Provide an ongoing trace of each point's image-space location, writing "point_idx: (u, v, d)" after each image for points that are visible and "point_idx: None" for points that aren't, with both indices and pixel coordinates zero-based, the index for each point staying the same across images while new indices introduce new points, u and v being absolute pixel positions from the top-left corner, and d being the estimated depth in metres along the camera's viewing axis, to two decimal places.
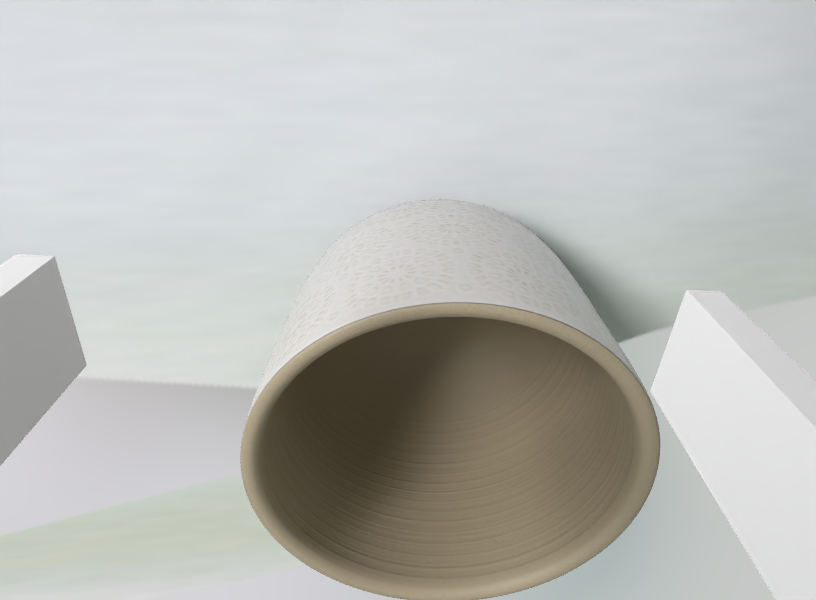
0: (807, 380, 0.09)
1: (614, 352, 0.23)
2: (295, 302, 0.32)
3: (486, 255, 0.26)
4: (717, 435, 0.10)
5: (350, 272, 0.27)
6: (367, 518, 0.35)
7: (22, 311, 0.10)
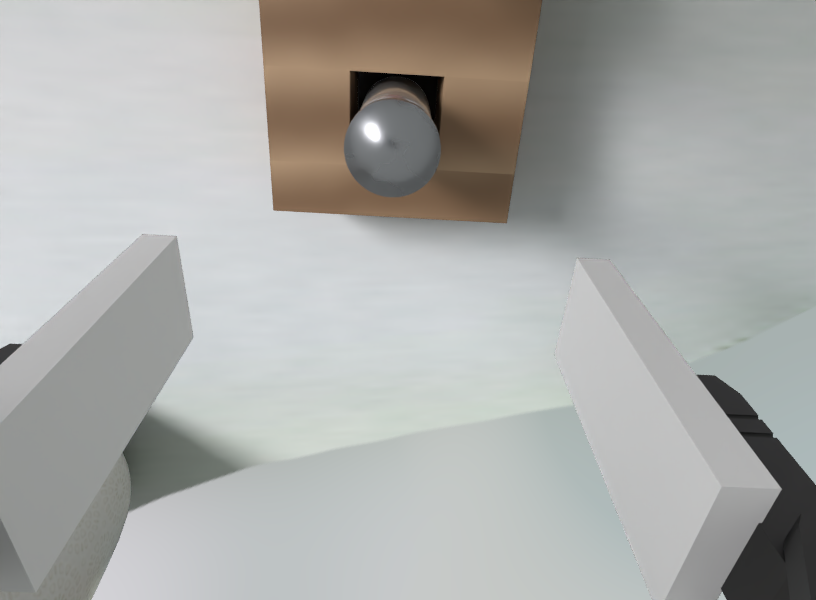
0: (655, 330, 0.10)
1: None
2: None
3: None
4: (592, 385, 0.11)
5: None
6: None
7: (157, 284, 0.11)
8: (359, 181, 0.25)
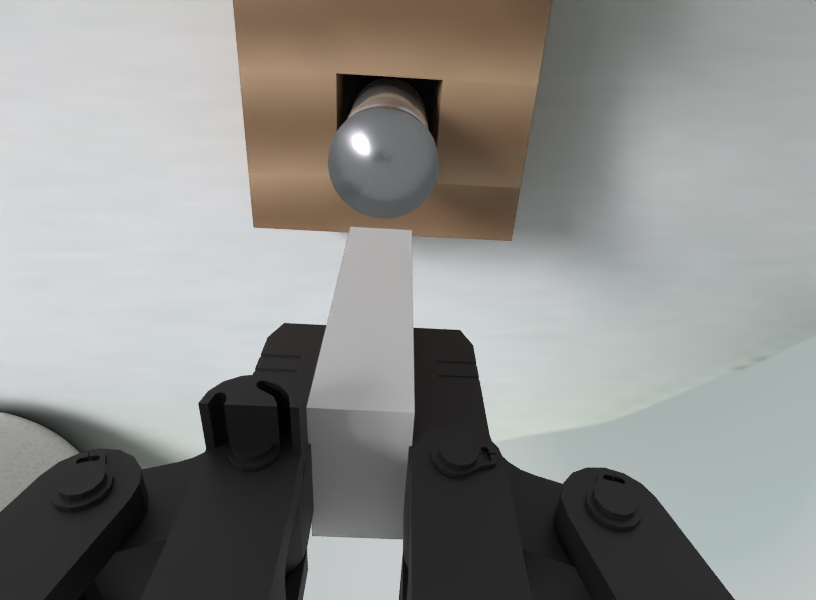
0: (405, 288, 0.10)
1: None
2: None
3: None
4: None
5: None
6: None
7: None
8: (346, 200, 0.22)
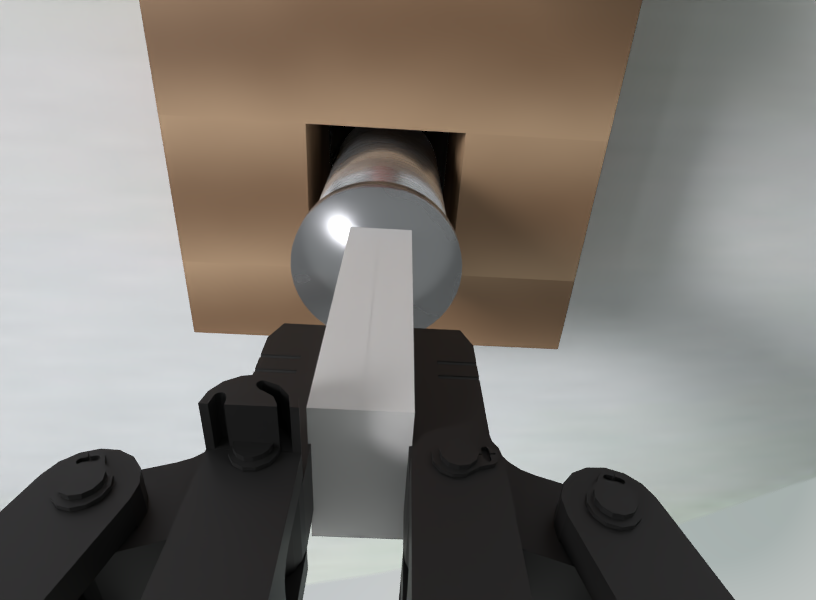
0: (405, 288, 0.10)
1: None
2: None
3: None
4: None
5: None
6: None
7: None
8: (320, 317, 0.15)
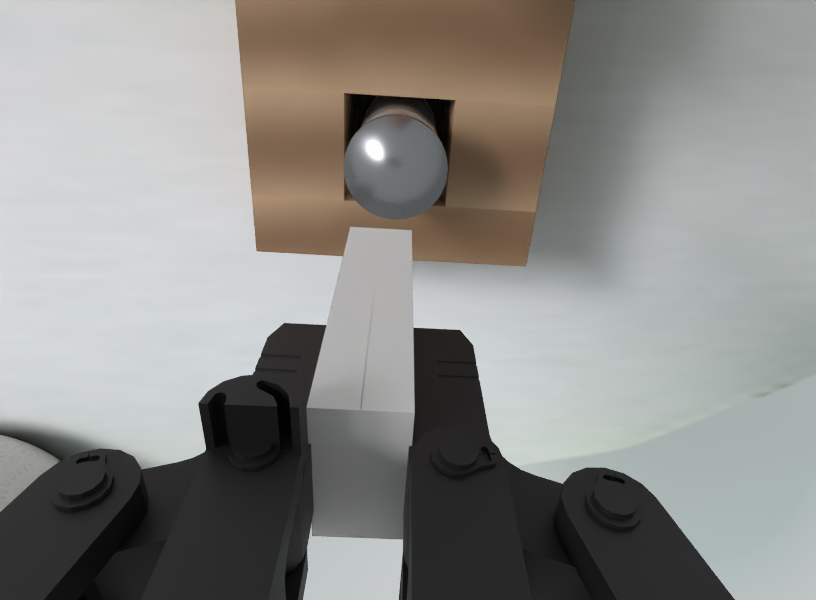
0: (405, 288, 0.10)
1: None
2: None
3: None
4: None
5: None
6: None
7: None
8: (360, 202, 0.23)
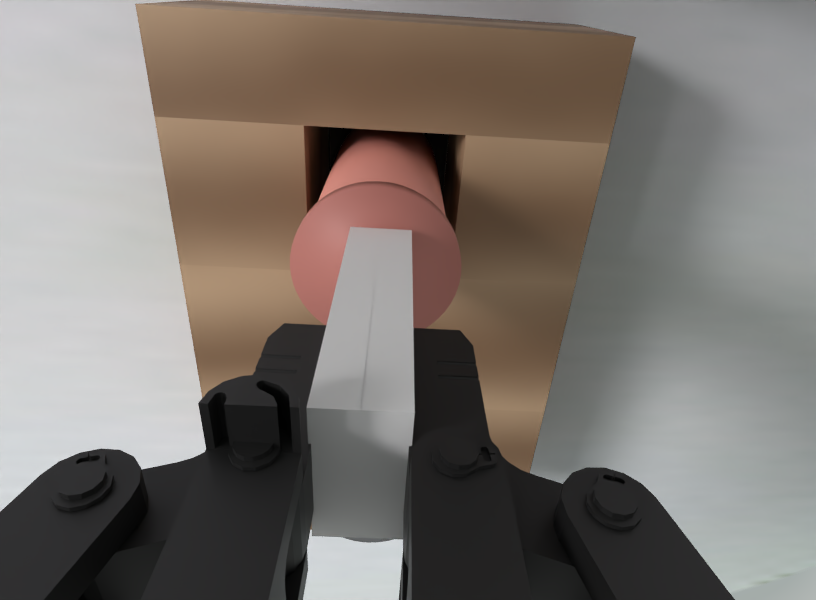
0: (405, 288, 0.10)
1: None
2: None
3: None
4: None
5: None
6: None
7: None
8: None
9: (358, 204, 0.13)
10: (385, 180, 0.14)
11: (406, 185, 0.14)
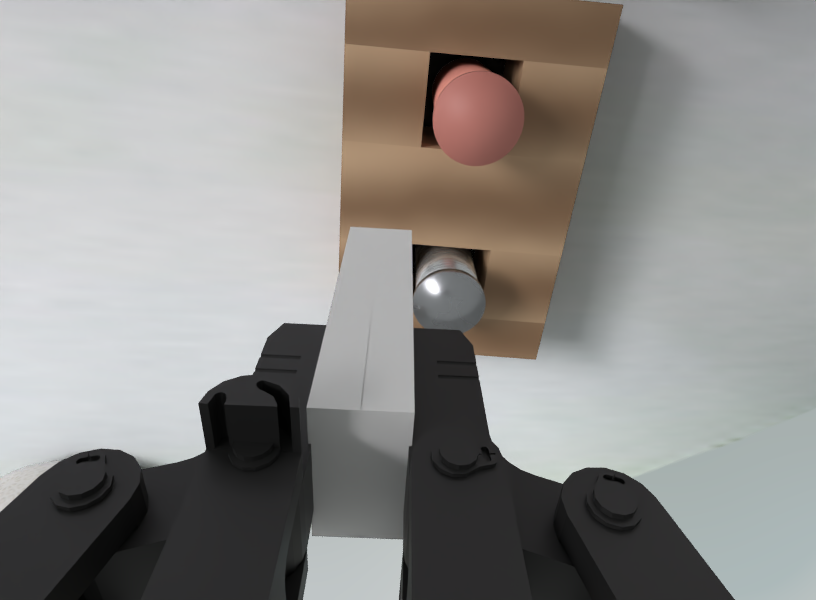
0: (404, 288, 0.10)
1: None
2: None
3: None
4: None
5: None
6: None
7: None
8: (422, 324, 0.33)
9: (474, 81, 0.25)
10: None
11: None
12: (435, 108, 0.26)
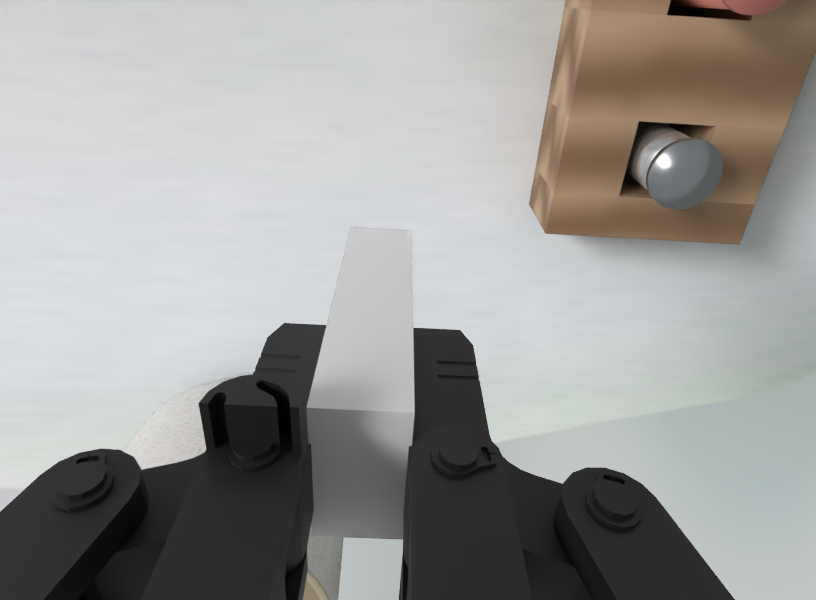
0: (405, 288, 0.10)
1: None
2: None
3: None
4: None
5: None
6: None
7: None
8: (655, 198, 0.34)
9: None
10: None
11: None
12: None
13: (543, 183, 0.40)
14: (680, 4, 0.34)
